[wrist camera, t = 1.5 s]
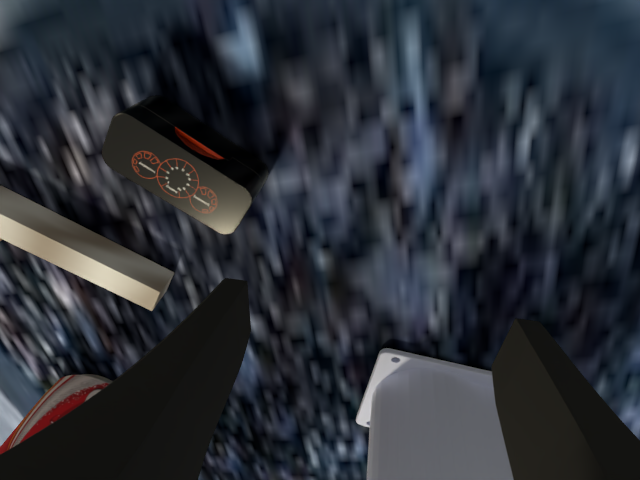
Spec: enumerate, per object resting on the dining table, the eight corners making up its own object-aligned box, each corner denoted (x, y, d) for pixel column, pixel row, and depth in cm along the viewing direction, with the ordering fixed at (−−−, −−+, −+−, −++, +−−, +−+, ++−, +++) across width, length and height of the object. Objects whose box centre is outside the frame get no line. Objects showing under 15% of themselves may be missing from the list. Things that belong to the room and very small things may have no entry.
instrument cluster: (140, 75, 18) (96, 94, 16) (276, 164, 20) (257, 196, 17) (112, 154, 21) (71, 182, 18) (235, 228, 22) (213, 264, 19)
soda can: (50, 356, 31) (-108, 535, 22) (138, 376, 31) (18, 567, 21) (70, 409, 35) (-55, 580, 26) (148, 427, 35) (51, 607, 25)
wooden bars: (147, -115, 14) (94, -132, 12) (175, 293, 25) (152, 328, 23) (-184, -176, 15) (-300, -203, 12) (-14, 250, 26) (-57, 280, 23)
